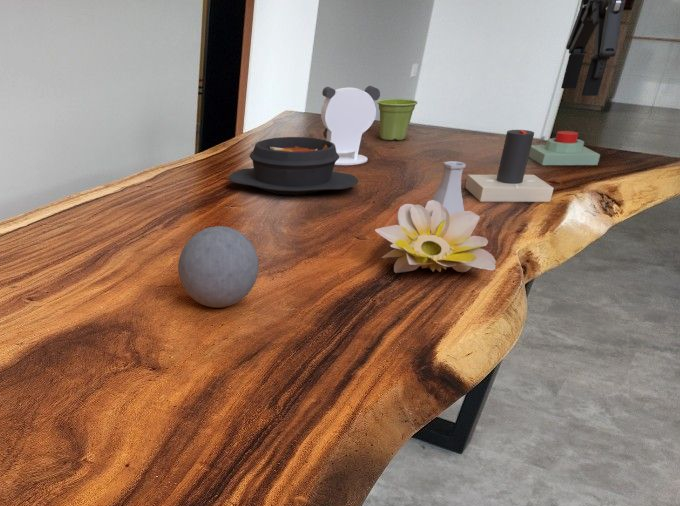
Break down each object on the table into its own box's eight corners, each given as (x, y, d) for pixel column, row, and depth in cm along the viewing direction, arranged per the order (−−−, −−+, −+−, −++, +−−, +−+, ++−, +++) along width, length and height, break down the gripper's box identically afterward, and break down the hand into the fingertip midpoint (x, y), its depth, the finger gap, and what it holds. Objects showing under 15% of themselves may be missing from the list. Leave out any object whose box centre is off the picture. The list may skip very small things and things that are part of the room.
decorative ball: (182, 322, 88) (182, 242, 83) (174, 291, 96) (174, 217, 91) (263, 318, 88) (268, 238, 83) (248, 288, 97) (252, 214, 91)
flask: (451, 218, 121) (463, 157, 116) (475, 230, 115) (489, 166, 110) (411, 221, 120) (421, 159, 115) (433, 234, 114) (445, 169, 109)
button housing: (578, 155, 159) (583, 136, 157) (597, 165, 151) (603, 145, 148) (525, 155, 160) (530, 136, 158) (542, 165, 152) (547, 145, 150)
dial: (493, 177, 134) (504, 128, 129) (518, 177, 133) (529, 127, 129) (500, 183, 130) (512, 132, 126) (526, 183, 130) (538, 132, 125)
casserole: (361, 181, 145) (366, 137, 140) (351, 205, 130) (358, 157, 125) (239, 174, 152) (241, 132, 148) (217, 196, 137) (218, 150, 133)
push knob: (571, 140, 155) (574, 130, 154) (578, 144, 152) (581, 134, 151) (551, 141, 156) (554, 131, 154) (558, 144, 152) (561, 134, 151)
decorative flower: (382, 277, 94) (395, 197, 91) (361, 267, 105) (372, 196, 102) (498, 284, 93) (515, 205, 90) (465, 274, 104) (479, 203, 101)
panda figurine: (361, 153, 167) (370, 83, 159) (377, 164, 157) (387, 89, 149) (310, 155, 166) (316, 84, 159) (322, 165, 157) (330, 91, 149)
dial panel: (530, 187, 137) (534, 173, 135) (550, 202, 128) (554, 186, 127) (465, 187, 138) (467, 173, 137) (480, 201, 129) (483, 186, 128)
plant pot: (365, 139, 181) (370, 102, 176) (385, 133, 186) (390, 97, 182) (399, 143, 175) (404, 105, 170) (418, 137, 180) (424, 100, 176)
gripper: (567, -33, 147) (539, 84, 158) (617, -35, 128) (581, 100, 139) (606, -35, 146) (575, 84, 158) (663, -36, 127) (623, 99, 138)
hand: (578, 91), depth 148 cm, fingers open, 10 cm apart
